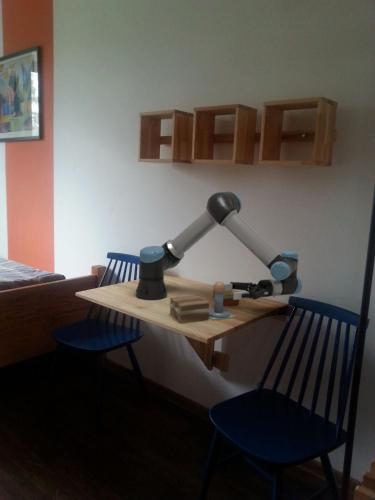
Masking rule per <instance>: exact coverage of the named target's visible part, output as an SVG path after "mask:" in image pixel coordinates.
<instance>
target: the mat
mask: <svg viewBox="0 0 375 500" xmlns="http://www.w3.org/2000/svg"><path fill="white" fill-rule="evenodd" d="M208 319H210V320H212V321H218V320H226V319H235V315H233V314H231V313H230V316H229V317H226V318H213V317H209V318H208Z"/></svg>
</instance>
